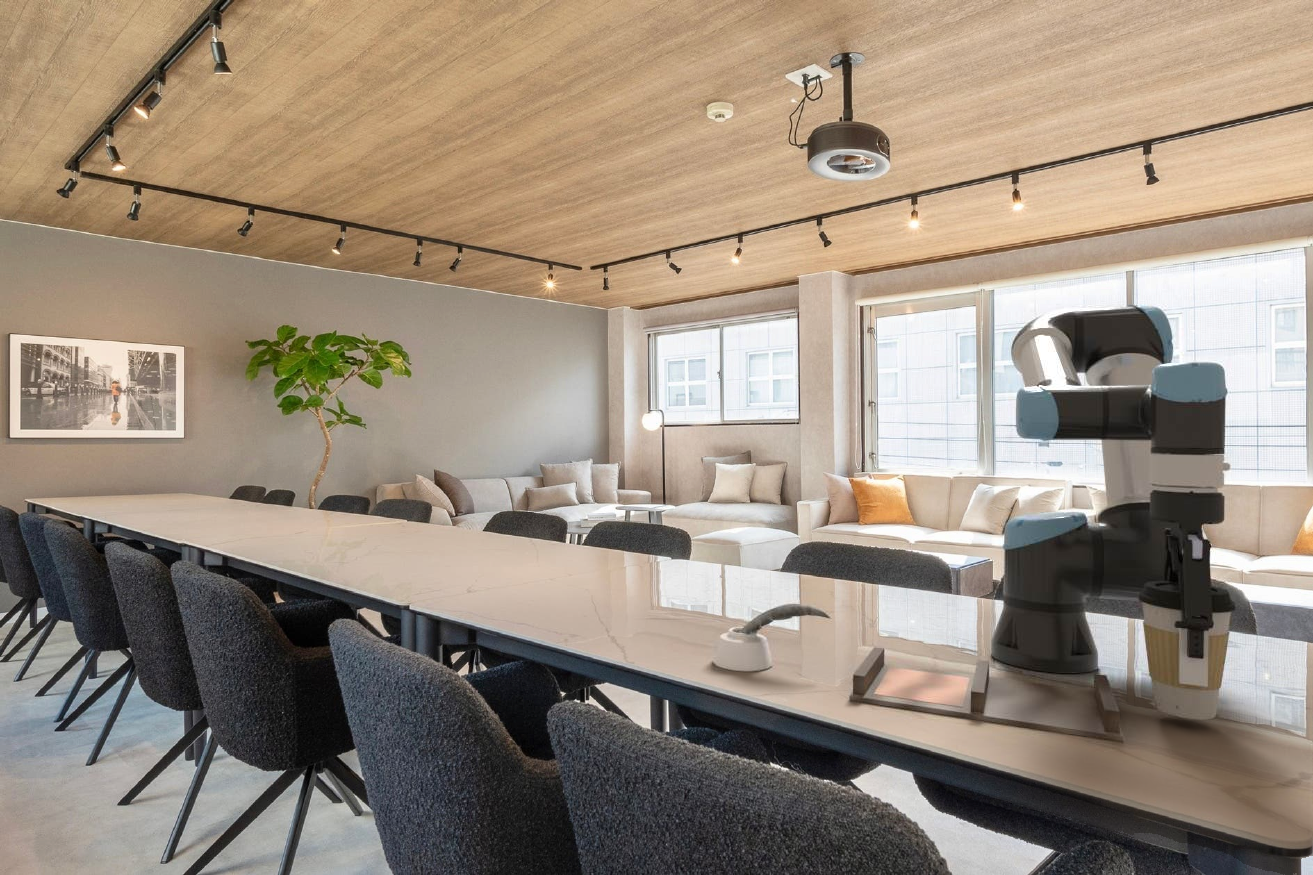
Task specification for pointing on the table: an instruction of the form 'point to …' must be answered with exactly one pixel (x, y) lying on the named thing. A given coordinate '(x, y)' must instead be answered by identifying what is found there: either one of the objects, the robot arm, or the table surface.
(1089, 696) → the slot rack
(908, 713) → the table surface
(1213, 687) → the coffee cup
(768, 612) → the inkwell
